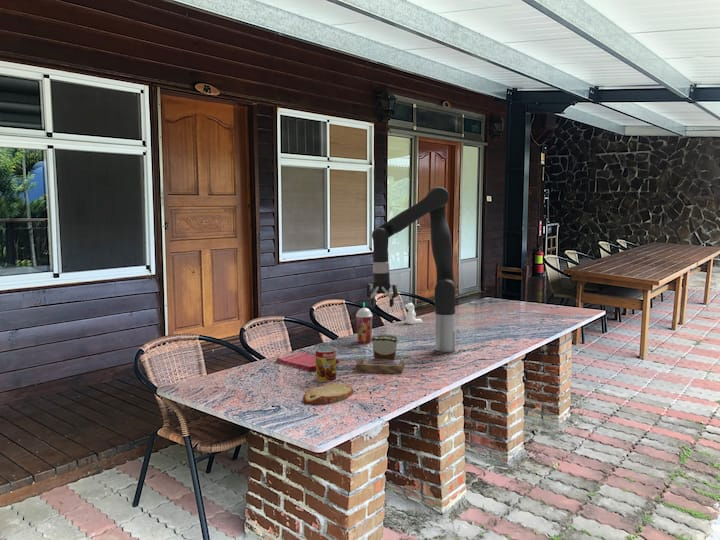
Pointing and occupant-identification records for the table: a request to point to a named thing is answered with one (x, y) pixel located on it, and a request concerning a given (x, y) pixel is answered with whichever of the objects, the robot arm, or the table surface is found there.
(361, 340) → the smoothie
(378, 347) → the food container
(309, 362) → the dish towel
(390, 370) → the walnut dock
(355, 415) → the table surface
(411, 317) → the white creature statuette
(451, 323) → the robot arm
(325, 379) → the canned food
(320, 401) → the bread slice
